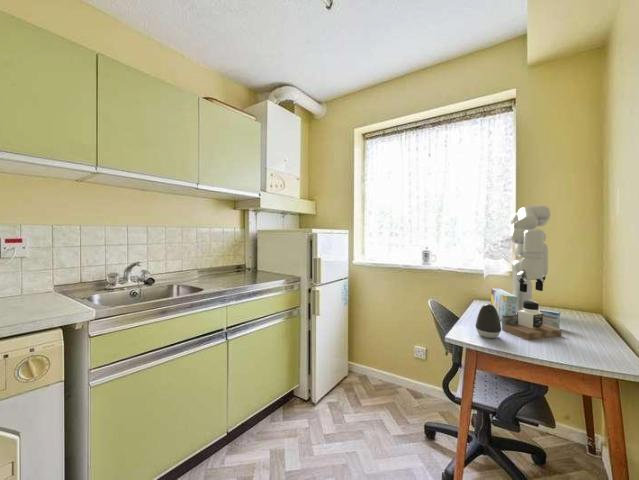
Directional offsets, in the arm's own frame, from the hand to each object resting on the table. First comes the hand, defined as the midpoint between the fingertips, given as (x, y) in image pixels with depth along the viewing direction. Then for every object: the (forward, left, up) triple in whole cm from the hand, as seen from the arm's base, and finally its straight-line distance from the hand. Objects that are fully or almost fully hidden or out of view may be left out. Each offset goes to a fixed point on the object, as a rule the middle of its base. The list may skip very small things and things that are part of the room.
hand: (531, 291), depth 138 cm
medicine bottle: (0, 0, -17) cm, 17 cm away
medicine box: (-16, -2, -20) cm, 26 cm away
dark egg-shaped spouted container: (+24, 0, -20) cm, 32 cm away
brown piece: (0, +1, -20) cm, 20 cm away
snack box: (-6, -20, -20) cm, 29 cm away
